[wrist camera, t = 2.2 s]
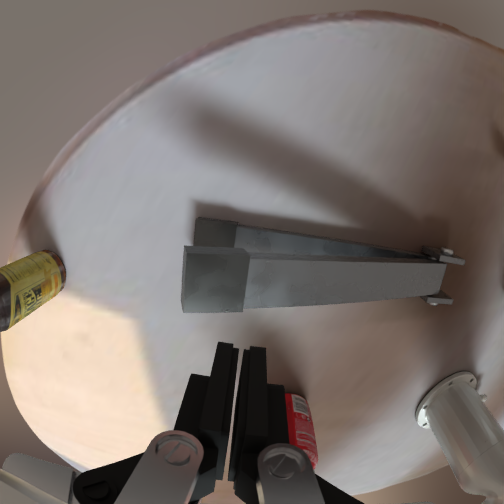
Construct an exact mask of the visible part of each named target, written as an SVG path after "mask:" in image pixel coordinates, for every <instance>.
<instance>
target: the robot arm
mask: <svg viewBox="0 0 504 504" xmlns="http://www.w3.org/2000/svg"><path fill="white" fill-rule="evenodd" d="M238 353H239V349H238V348H233V344H231V343H224V342H218V345H217V349H216V353H215V358H214V362H213V366H212V371H211V375H210V377H209V376H203V375H197V374H191V376H190V378H189V382H188V385H187V388H186V391H185V394H184V397H183V401H182V404H181V407H180V410H179V414H178V417H177V420H176V423H175V427H174V430H171V431H166V432H162V433H160V434H158V435H157V436H155V437H154V439H153V440H152V441H151V442H150V444H149V446H148V448H147V449H146V451H145V452H144V453H141V454H138V455H136V456H133V457H130V458H127V459H124V460H121V461H118V462H115V463H112V464H109V465H106V466H102V467H99V468H96V469H92V470H89V471H86V472H83V473H81V472H76V471H74V469H73V468H69V467H65V466H61V465H57V464H54V463H50V462H47V461H44V460H40V459H37V458H34V457H31V456H28V455H25V454H21V453H15V454H11V455H10V456H8V457H7V458H6V460H5V462H4V464H3V468H2V470H1V469H0V504H201V501H202V498H203V497H204V496H206V495H208V494H210V493H212V492H214V487H215V481H216V479H217V480H222V479H223V473H224V466H225V459H226V453H227V446H228V440H229V432H230V424H231V415H232V407H233V398H234V389H235V380H236V371H237V362H238ZM476 385H477V381H476V378H475V376H474V375H473V374H472V373H470V372H466V371H464V372H459V373H456V374H453V375H451V376H449V377H448V378H446V379H444V380H443V381H441V382H440V383H439V384H437V385H436V386H435V387H434V388H433V389H432V390H431V391H430V392H429V393H428V394H427V395H426V396H425V398H424V399H423V400H422V402H421V403H420V405H419V407H418V409H417V411H416V421H417V423H418V424H419V426H421V427H423V428H431V429H432V431H433V433H434V435H435V437H436V439H437V441H438V443H439V444H440V446H441V448H442V450H443V452H444V454H445V456H446V458H447V460H448V462H449V464H450V466H451V468H452V470H453V472H454V474H455V476H456V479H457V481H458V483H459V485H460V487H461V488H462V489H463V490H464V491H465V492H468V493H470V494H476V495H484V496H486V497H487V498H486V500H485V501H484V502H482V503H481V504H504V430H503V429H502V427H501V426H500V425H499V423H498V422H497V420H496V419H495V418H494V416H493V415H492V414H491V412H490V411H489V410H488V408H487V407H486V406H485V404H484V403H483V401H485V400H486V399H487V396H486V394H484V395H479V394H478V393H477V391H476V390H475V389H476ZM228 481H233V482H234V488H233V489H235V495H236V496H238V497H239V498H240V499H241V500H242V501H243V502H244V504H364V503H362V502H360V501H359V500H357V499H355V498H354V497H352V496H350V495H348V494H347V493H345V492H343V491H342V490H340V489H338V488H337V487H335V486H333V485H332V484H330V483H329V482H327V481H326V480H324V479H322V478H321V477H319V476H318V475H316V474H315V473H314V470H313V467H312V464H311V461H310V459H309V457H308V455H307V454H306V453H305V452H304V451H303V450H302V449H300V448H299V447H297V446H295V445H291V444H290V442H289V431H288V420H287V409H286V399H285V389H284V386H283V385H275V384H267V367H266V348H263V347H254V346H250V350H246V349H244V352H243V358H242V365H241V371H240V378H239V384H238V391H237V397H236V404H235V413H234V423H233V433H232V443H231V453H230V463H229V473H228ZM405 504H434V503H432V502H419V503H405Z"/></svg>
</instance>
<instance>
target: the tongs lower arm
mask: <svg viewBox="0 0 504 504" xmlns="http://www.w3.org/2000/svg"><path fill="white" fill-rule="evenodd" d="M194 246H205V247H229V248H244V249H245V250H246V251H247V252H258V253H284V254H309V255H335V256H360V257H385V258H411V259H437V260H439V261H443V262H448V263H454V264H459V265H464V264H465V260H464V259H462V258H461V257H459V256H457V255H455V254H453V253H454V250H452V249H449V248H446V247H441V249H437V248H432V247H427V246H423V247H422V251H423V252H425V253H426V254H422V253H417V252H411V251H406V250H400V249H394V248H388V247H382V246H376V245H370V244H364V243H358V242H352V241H346V240H340V239H333V238H327V237H320V236H314V235H307V234H301V233H294V232H287V231H280V230H273V229H266V228H259V227H252V226H244V225H238V222H233V221H225V220H218V219H210V218H202V217H199V218H197V219H196V224H195V235H194ZM420 297H421V298H422V299H423V300H424V301H426V302H427V303H428V304H430V305H433V306H437V305H438V303H439V304H452V302H453V299H452V298H451V297H449V296H448V295H447V294H445V293H444V292H443V291H442V290H439V293H438V294H433V295H425V296H420Z"/></svg>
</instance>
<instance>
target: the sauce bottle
mask: <svg viewBox="0 0 504 504" xmlns="http://www.w3.org/2000/svg"><path fill="white" fill-rule="evenodd" d="M65 280H66V271H65V268H64V266H63V264H62V262H61V260H60V259H59V257H58V256H57V255H56V254H55V253H53V252H51V251H49V250H43V251H41V252H36V253H34V254H31V255H29V256H26V257H24V258H22V259H19V260H17V261H15V262H12V263H10V264H8V265H5V266H3V267H1V268H0V332H2V331H6V330H8V329H9V328H11V327H12V326H13V325H15V324H16V323H17V322H19V321H20V320H22V319H23V318H25V317H26V316H28V315H29V314H30V313H32V312H33V311H35V310H36V309H37V308H39V307H40V306H42V305H43V304H44V303H46V302H47V301H49V300H50V299H52V298H53V297H55V296H56V295H57V294H58V293H59V292H60V291H61V290H62V289H63V288H64V285H65Z"/></svg>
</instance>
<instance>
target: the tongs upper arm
mask: <svg viewBox="0 0 504 504" xmlns="http://www.w3.org/2000/svg"><path fill="white" fill-rule="evenodd" d="M446 266H447V264H446V263H444V262H442V261H439V260H437V259H411V258H385V257H360V256H335V255H309V254H284V253H258V252H247V251H246V250H245V249H244V248H229V247H205V246H184V255H183V271H182V291H181V304H182V309H183V313H219V312H243V308H271V307H294V306H312V305H328V304H342V303H355V302H367V301H378V300H388V299H398V298H407V297H416V296H425V295H433V294H438V293H439V290H440V287H441V283H442V280H443V277H444V273H445V270H446Z"/></svg>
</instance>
